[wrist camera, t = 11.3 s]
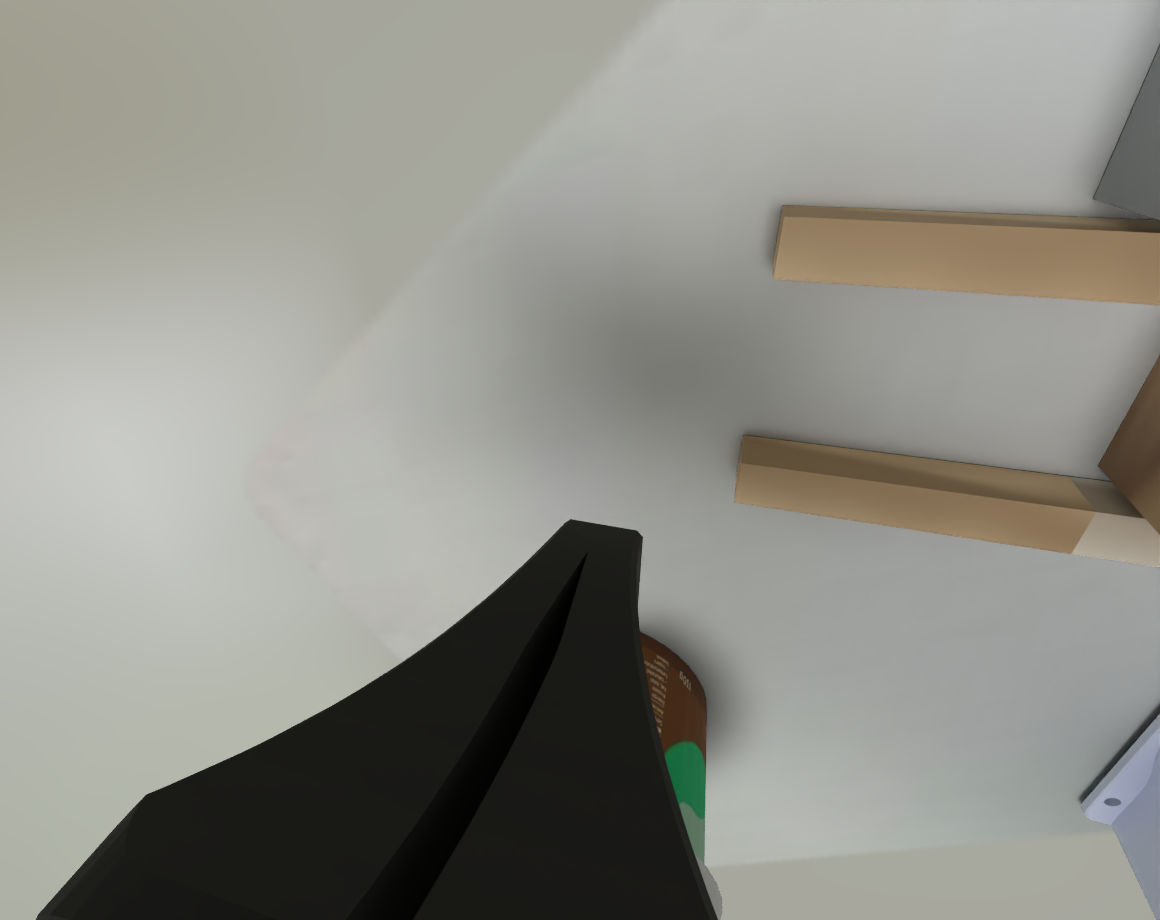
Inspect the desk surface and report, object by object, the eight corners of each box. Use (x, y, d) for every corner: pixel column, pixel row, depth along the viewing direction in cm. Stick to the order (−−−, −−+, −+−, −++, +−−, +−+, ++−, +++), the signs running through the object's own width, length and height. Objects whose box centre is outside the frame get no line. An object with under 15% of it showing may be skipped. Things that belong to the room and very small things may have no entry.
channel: (1401, 566, 16) (1489, 632, 14) (736, 472, 20) (733, 513, 18) (1729, 242, 11) (1927, 272, 10) (782, 205, 16) (784, 220, 14)
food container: (678, 794, 31) (647, 1040, 23) (573, 749, 32) (505, 975, 24) (781, 662, 24) (787, 950, 16) (643, 607, 25) (581, 859, 17)
